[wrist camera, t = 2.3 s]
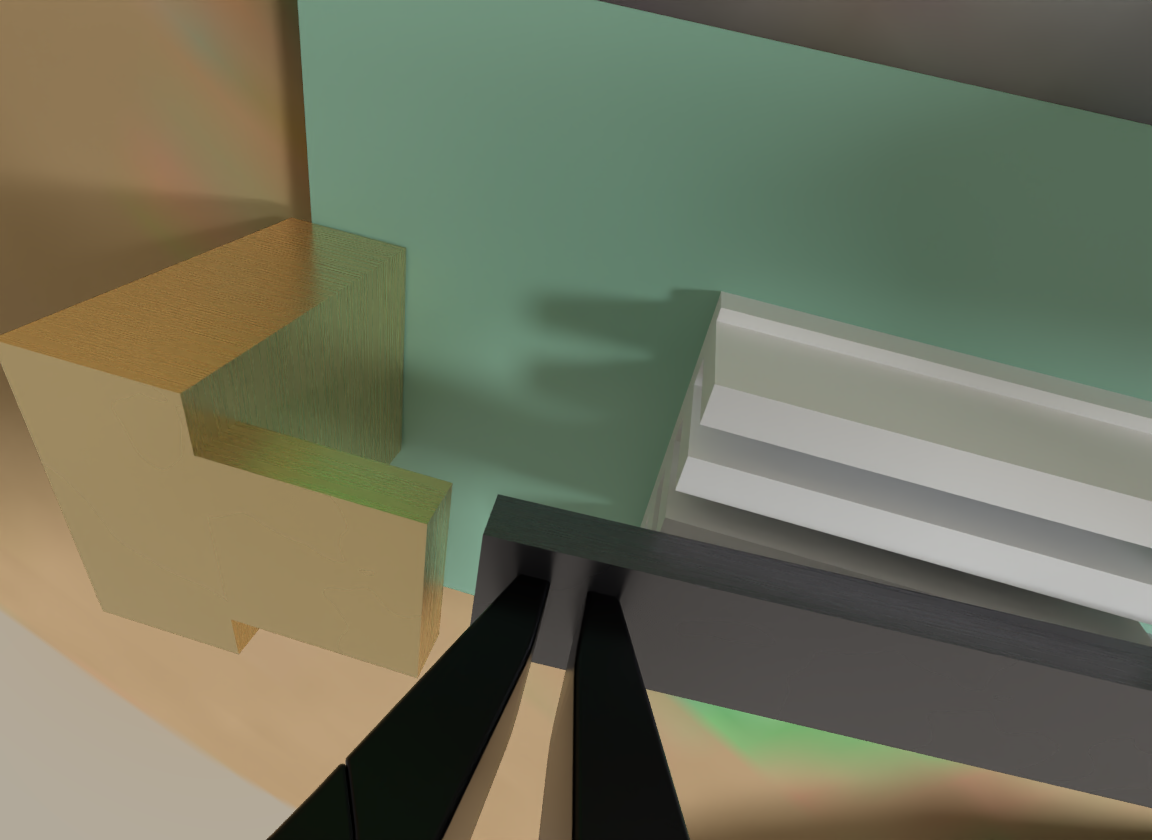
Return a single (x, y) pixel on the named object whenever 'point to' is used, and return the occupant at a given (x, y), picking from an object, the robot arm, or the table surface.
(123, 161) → the table surface
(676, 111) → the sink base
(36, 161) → the table surface
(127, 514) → the block
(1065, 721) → the dark grey flat bar
